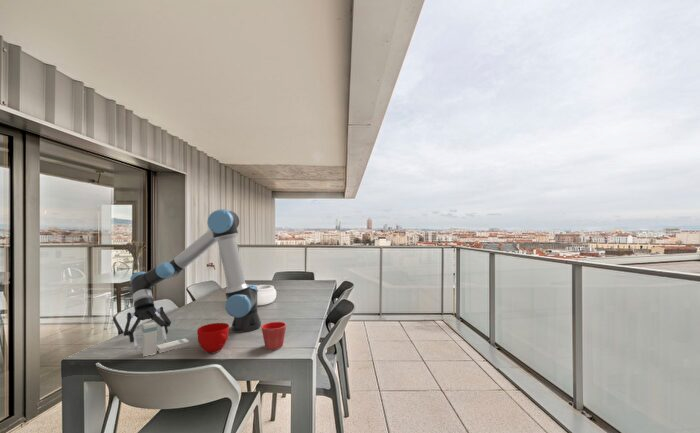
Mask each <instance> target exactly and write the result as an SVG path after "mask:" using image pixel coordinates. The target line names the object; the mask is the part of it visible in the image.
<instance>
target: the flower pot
mask: <svg viewBox="0 0 700 433" xmlns="http://www.w3.org/2000/svg"><path fill="white" fill-rule="evenodd" d="M286 330H287V323H285V322H283V321H271V322H267V323H264V324H261V334H262V337H263V342H264V346H265V349H266V350H270V351H271V350H272V351H273V350H280V349H281V348H283V347H284V341H285V336H286Z"/></svg>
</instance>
